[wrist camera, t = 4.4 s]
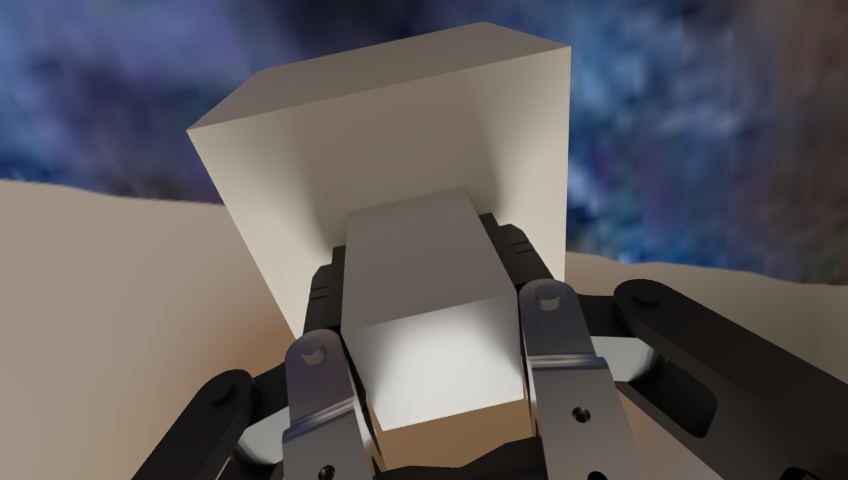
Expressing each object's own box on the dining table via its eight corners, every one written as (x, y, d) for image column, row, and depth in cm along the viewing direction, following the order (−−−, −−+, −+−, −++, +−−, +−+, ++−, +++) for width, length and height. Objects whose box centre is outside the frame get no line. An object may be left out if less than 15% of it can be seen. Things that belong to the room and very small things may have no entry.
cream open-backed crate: (483, 21, 18) (715, 86, 6) (499, 214, 23) (634, 438, 12) (260, 70, 17) (62, 231, 6) (330, 252, 23) (299, 517, 12)
